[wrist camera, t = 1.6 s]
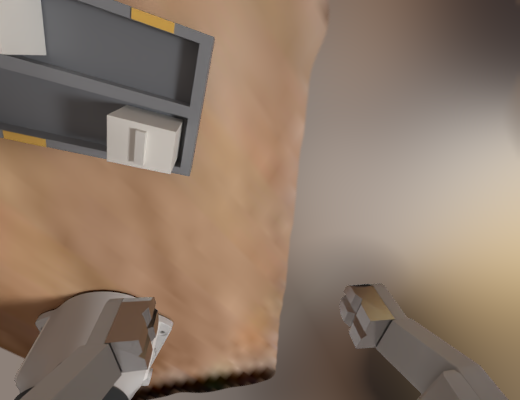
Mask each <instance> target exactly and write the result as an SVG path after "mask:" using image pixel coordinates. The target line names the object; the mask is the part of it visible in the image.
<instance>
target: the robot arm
mask: <svg viewBox="0 0 520 400" xmlns="http://www.w3.org/2000/svg"><path fill="white" fill-rule="evenodd" d="M344 293H345V294H346V295H345V296H344V297H342V298H341V301H340V313H341V316H342V318H343V321H344V322H345V323H346V324H347V325H349V326H350V327H349V334H350V336H351V338H352V340H353V343H354V345H355V347H356V349H357V348H371V347H376V349H377V350H378V351H379V352H380V353H381V354H382V355H383V356H384V357H385V358H386V359H387V360H388V361H389V362H390V363H391V364H392V365H393V366H394V367H395V368H396V369H397V370H398V371H399V372H400V373H401V374H402V375H403V376H404V377H405V378H407V380H408V381H409V382H410V383H411V384H412V385H414V386H415V387H416V388H417V390H419V391H420V392H421V393H422V395H421V396H420V397H419V398H418V399H417V400H508V399H507V398H506V397H505V395H504V394H503V393H502V392H501V390H500V389H499V388H498V387H497V386H496V384H495V383H494V382H493V381H492V380H491V378H490V377H489V376H488V375H487V373H486V372H485V371H484V370H483V369H482V368H481V366H480V365H478V364H477V363H475V362H474V361H472V360H471V359H469V358H468V357H466V356H465V355H464V354H462V353H461V352H459V351H458V350H456V349H455V348H454V347H452V346H451V345H449V344H448V343H446V342H445V341H443V340H442V339H440V338H439V337H438V336H436V335H434V334H433V333H431V332H430V331H429V330H427V329H426V328H424V327H423V326H421V325H420V324H418V323H417V322H415V321H414V320H413V319H408V318H407V317H406V315H405V314H404V312H403V311H402V310H401V308H400V307H399V305H398V304H397V303H396V301H395V300H394V298H393V297H392V296H391V294H390V293H389V291H388V290H387V289H386V287H385V286H384V285H383V284H362V285H349V286H347V287H346V288H345V290H344ZM155 305H156V301H155V297H144V298H136V297H133V296H130V295H127V294H122V293H117V292H90V293H85V294H81V295H78V296H75V297H72V298H70V299H69V300H67V301H65V302H64V303H63V304H62V305H61V306H60V307H58V308H57V309H55V310H52V311H49V312H46V313H43V314H41V315H40V316H39V317H38V319H37V321H36V323H35V324H36V326H37V328H38V330H39V331H40V334H39V335H38V337H37V339H36V340H35V342H34V344H33V346H32V347H31V349H30V351H29V353H28V354H27V356H26V358H25V360H24V362H23V363H22V365H21V367H20V369H19V371H18V372H17V374H16V376H15V380H14V381H15V382H16V386H17V388H18V389H19V391H20V394H19V395H18V396H17V397H16V398H15V399H14V400H131V398H132V397H133V395H134V394H135V393H136V391H137V390H138V389H139V388H140V386H147V385H149V382H150V379H151V376H152V371H153V369H152V368H150V367H151V365H152V363H153V362H154V360H155V358H156V356H157V354H158V353H159V351H160V349H161V347H162V345H163V344H164V342H165V340H166V338H167V337H168V335H169V333H170V331H171V329H172V326H173V322H172V321H171V320H169V319H167V318H165V317H163V316H161V315H159V314H158V310H156V309H155Z"/></svg>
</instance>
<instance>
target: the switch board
mask: <svg viewBox="0 0 520 400" xmlns="http://www.w3.org/2000/svg"><path fill="white" fill-rule="evenodd" d="M41 7H42V17H43V27H44V36H45V46H46V55H5V54H0V137H1V138H4V139H9V140H14V141H19V142H24V143H29V144H34V145H38V146H43V147H50V148H55V149H60V150H64V151H69V152H74V153H79V154H84V155H89V156H93V157H98V158H103V159H107V115H108V114H110V113H112V112H114V111H116V110H118V109H120V108H122V107H124V106H126V105H129V106H133V107H137V108H140V109H144V110H148V111H152V112H155V113H159V114H163V115H167V116H170V117H174V118H178V119H182V120H183V127H182V133H181V140H180V147H179V154H178V158H177V160H176V162H175V165H174V167H173V169H172V171H171V173H176V174H181V175H186V176H190V172H191V168H192V164H193V158H194V152H195V147H196V141H197V136H198V130H199V124H200V119H201V113H202V108H203V102H204V96H205V91H206V85H207V80H208V74H209V69H210V63H211V57H212V52H213V46H214V41H215V39H214V37H212V36H210V35H207V34H204V33H201V32H199V31H196V30H193V29H190V28H188V27H185V26H182V25H180V24H177V23H174V22H171V21H169V20H166V19H163V18H161V17H158V16H155V15H152V14H150V13H147V12H144V11H141V10H139V9H136V8H133V7H131V6H128V5H125V4H122V3H120V2H117V1H114V0H41Z"/></svg>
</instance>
